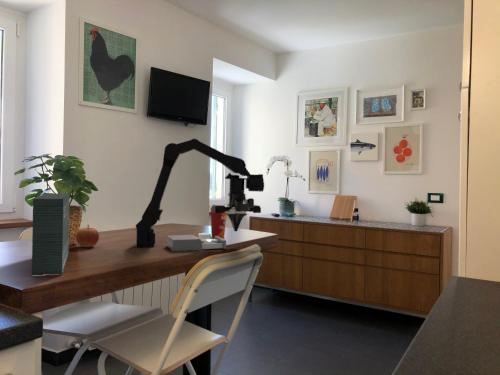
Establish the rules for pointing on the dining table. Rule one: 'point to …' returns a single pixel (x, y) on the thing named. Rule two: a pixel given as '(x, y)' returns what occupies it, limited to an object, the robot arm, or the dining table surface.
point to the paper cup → (218, 224)
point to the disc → (209, 241)
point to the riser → (204, 236)
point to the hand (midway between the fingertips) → (235, 231)
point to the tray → (215, 244)
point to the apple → (87, 237)
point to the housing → (184, 242)
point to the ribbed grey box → (50, 233)
